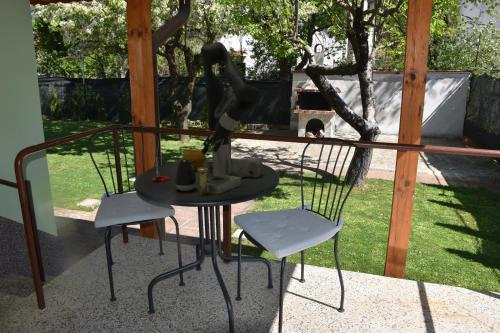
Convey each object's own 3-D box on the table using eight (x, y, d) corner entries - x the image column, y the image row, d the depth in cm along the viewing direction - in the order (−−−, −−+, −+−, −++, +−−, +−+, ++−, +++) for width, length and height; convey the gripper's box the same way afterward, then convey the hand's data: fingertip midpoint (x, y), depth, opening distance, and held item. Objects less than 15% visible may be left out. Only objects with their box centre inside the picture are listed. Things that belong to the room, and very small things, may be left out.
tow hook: (156, 178, 223) (149, 181, 214) (155, 154, 220) (148, 157, 211) (171, 178, 221) (165, 182, 212) (170, 154, 219) (164, 157, 210)
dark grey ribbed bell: (198, 191, 195) (197, 160, 191) (176, 193, 192) (174, 162, 188) (195, 185, 204) (193, 156, 201) (174, 188, 202) (172, 157, 198)
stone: (236, 178, 217) (236, 160, 214) (240, 173, 228) (239, 155, 225) (260, 179, 215) (260, 160, 212) (263, 173, 226) (263, 155, 224)
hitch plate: (222, 181, 211) (222, 172, 210) (241, 185, 204) (241, 175, 203) (198, 190, 197) (198, 180, 195) (217, 194, 190) (217, 184, 189)
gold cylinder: (203, 191, 194) (202, 166, 191) (211, 193, 191) (209, 168, 188) (196, 194, 190) (195, 168, 187) (204, 196, 187) (202, 170, 185)
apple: (194, 166, 247) (193, 147, 244) (210, 168, 239) (209, 149, 237) (178, 170, 237) (177, 151, 234) (195, 173, 229) (194, 153, 227)
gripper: (230, 118, 184) (212, 145, 191) (211, 119, 172) (193, 148, 179) (241, 128, 182) (222, 155, 189) (223, 131, 170) (204, 159, 177)
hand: (208, 152), depth 184 cm, fingers open, 8 cm apart
